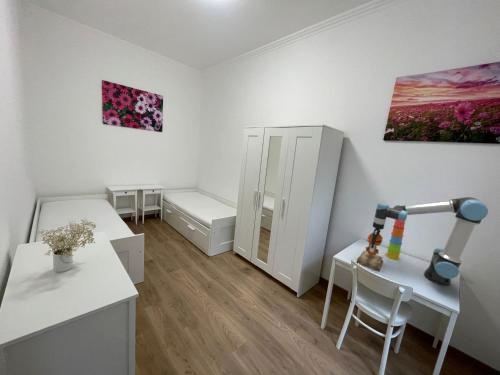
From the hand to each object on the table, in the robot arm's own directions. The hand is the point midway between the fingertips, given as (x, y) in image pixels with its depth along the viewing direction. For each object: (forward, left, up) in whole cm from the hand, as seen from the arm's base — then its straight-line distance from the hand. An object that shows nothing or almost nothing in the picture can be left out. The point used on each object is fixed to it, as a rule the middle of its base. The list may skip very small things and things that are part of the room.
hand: (372, 249), depth 170 cm
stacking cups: (-13, -30, -13) cm, 35 cm away
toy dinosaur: (0, 0, -4) cm, 4 cm away
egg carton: (0, 0, -12) cm, 12 cm away
